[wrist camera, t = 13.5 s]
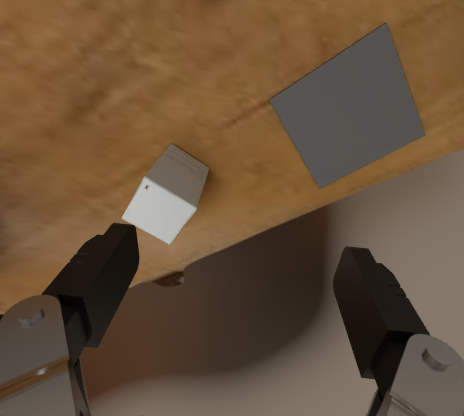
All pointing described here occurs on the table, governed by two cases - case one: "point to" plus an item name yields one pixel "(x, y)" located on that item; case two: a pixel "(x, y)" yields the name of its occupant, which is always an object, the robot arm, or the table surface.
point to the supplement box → (168, 194)
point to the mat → (350, 109)
